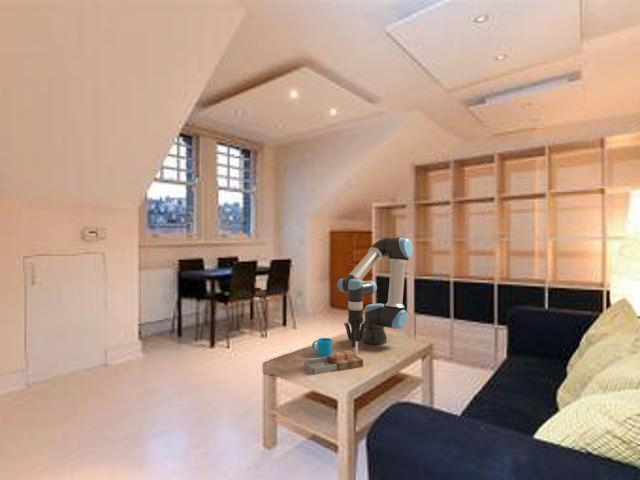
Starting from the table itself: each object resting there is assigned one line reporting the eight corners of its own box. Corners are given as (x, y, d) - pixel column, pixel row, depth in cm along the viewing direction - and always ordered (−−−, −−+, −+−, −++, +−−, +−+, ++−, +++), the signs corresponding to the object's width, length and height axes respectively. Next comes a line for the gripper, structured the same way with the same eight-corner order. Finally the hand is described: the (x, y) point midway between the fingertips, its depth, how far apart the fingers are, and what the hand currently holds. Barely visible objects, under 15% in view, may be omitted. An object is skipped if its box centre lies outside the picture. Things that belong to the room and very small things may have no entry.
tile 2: (350, 354, 210) (350, 350, 210) (354, 357, 206) (354, 352, 206) (342, 356, 208) (342, 351, 208) (346, 358, 204) (346, 353, 204)
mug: (334, 353, 224) (334, 338, 223) (328, 357, 216) (328, 342, 216) (315, 350, 229) (315, 336, 229) (308, 354, 222) (308, 340, 221)
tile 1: (341, 356, 208) (341, 351, 208) (345, 359, 204) (345, 354, 203) (333, 357, 206) (333, 352, 206) (337, 360, 202) (337, 355, 202)
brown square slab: (349, 357, 215) (349, 351, 215) (363, 366, 202) (362, 359, 202) (326, 361, 210) (326, 355, 209) (338, 370, 197) (338, 363, 197)
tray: (326, 362, 209) (326, 356, 208) (337, 370, 198) (337, 364, 197) (304, 366, 203) (304, 360, 203) (313, 374, 192) (313, 368, 192)
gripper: (362, 306, 214) (362, 349, 215) (341, 308, 208) (341, 352, 209) (369, 309, 207) (370, 353, 208) (347, 311, 201) (348, 357, 202)
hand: (355, 353), depth 208 cm, fingers closed
